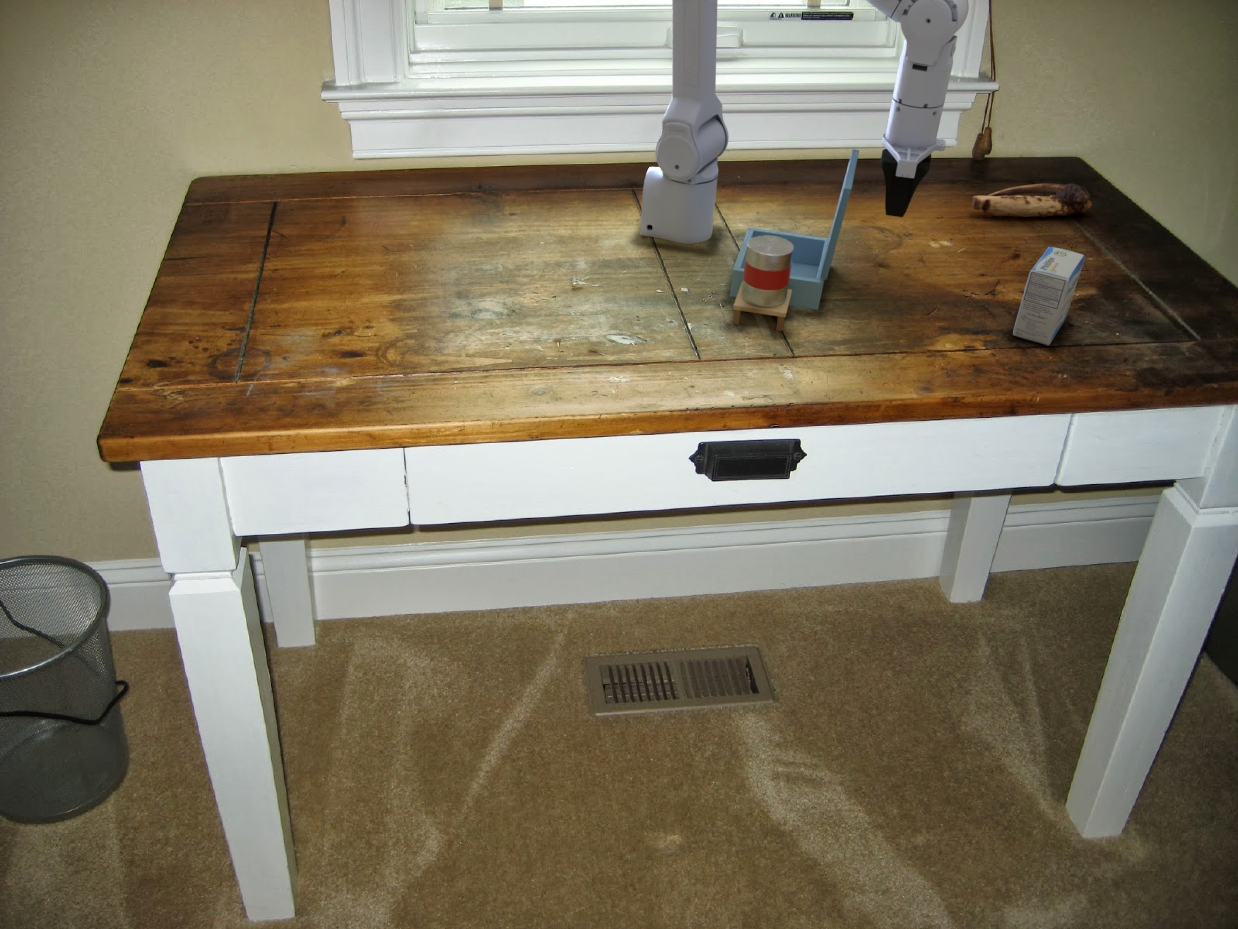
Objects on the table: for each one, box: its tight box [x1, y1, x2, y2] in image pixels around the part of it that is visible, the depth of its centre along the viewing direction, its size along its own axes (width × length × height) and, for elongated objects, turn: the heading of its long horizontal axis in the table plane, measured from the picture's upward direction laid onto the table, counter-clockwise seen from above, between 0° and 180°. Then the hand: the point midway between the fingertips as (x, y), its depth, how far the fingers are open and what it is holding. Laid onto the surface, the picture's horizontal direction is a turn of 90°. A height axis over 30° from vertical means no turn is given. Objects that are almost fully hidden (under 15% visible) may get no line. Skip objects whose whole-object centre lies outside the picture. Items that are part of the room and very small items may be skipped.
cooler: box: [729, 226, 829, 311], centre depth 132 cm, size 11×13×4 cm
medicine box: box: [1012, 246, 1086, 347], centre depth 125 cm, size 8×4×9 cm, turn 148°
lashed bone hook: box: [971, 183, 1093, 218], centre depth 154 cm, size 9×5×18 cm
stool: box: [732, 282, 792, 332], centre depth 125 cm, size 6×6×3 cm
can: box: [741, 235, 794, 307], centre depth 122 cm, size 5×5×6 cm
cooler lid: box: [820, 148, 860, 281], centre depth 126 cm, size 11×13×1 cm
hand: (894, 213), depth 129 cm, fingers closed
